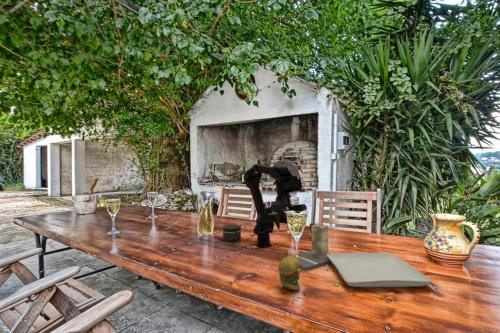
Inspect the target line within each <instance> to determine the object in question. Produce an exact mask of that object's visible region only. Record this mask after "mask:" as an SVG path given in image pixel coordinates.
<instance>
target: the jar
mask: <svg viewBox="0 0 500 333" xmlns="http://www.w3.org/2000/svg"><path fill="white" fill-rule="evenodd" d="M241 238H242V228H241V225H239V224H226V225H223V226H222V239H223V241H224V242H225V243H230V244H232V243H238V242H240V240H241Z"/></svg>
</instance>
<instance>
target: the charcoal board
mask: <svg viewBox="0 0 500 333" xmlns="http://www.w3.org/2000/svg"><path fill="white" fill-rule="evenodd" d="M329 253H330V252H328V254H329ZM296 255H297V254H293V255H292V256H295V257H296ZM284 258H285V257H283V258H282V259H284ZM298 259H299V260H300V263H301V266H300V268H299V269H300V270H301V271H304V272H309V271H312V270H315V269H318V268H320V267H325V266H327V265H330V264H333V263H332V262H331V261H330V259H329V258H328V257H326V258H324V259H320V258H316V257H312V250H308V251H304V252H301V253H298ZM299 269H298V270H299Z"/></svg>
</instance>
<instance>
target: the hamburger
mask: <svg viewBox="0 0 500 333" xmlns="http://www.w3.org/2000/svg"><path fill="white" fill-rule="evenodd" d="M281 255H282V256H283V258H284V259H283V258H282V259H281V260H280V261H279V263H278V272H279V273H278V275H279V277H278V278H279V281H280V283H281V285H282V286H284V287H285V288H286V289H289V290H291V291H299V289H301V285H300V275H301V274H300V271H299V268H300V266H301V263H300V260H299V259H298V258H297V257H295V256H293V255H288V256H285V253H281Z"/></svg>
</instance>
